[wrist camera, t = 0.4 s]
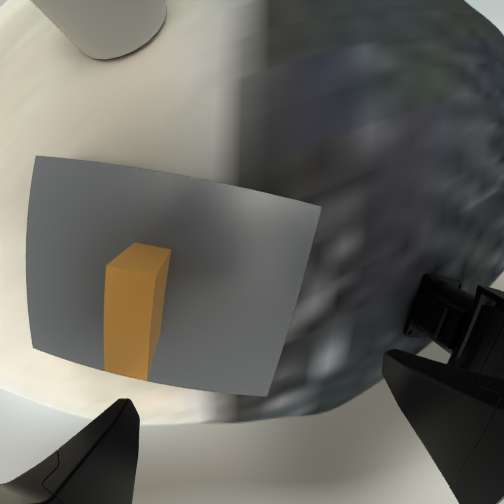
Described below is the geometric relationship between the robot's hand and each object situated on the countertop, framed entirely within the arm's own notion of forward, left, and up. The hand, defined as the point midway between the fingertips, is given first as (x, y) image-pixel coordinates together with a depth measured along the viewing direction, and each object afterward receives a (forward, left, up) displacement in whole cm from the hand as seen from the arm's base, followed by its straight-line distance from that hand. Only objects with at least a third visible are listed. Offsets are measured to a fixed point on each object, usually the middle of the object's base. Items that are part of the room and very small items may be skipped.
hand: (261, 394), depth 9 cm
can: (+13, -18, -13) cm, 26 cm away
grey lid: (+5, 0, -8) cm, 10 cm away
